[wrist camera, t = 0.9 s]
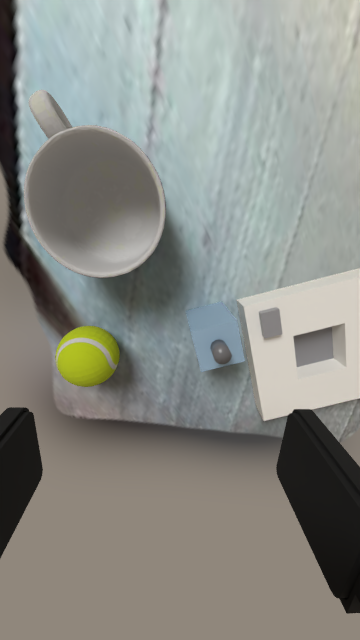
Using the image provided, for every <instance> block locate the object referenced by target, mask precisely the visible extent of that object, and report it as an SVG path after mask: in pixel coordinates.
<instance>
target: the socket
mask: <svg viewBox="0 0 360 640" xmlns="http://www.w3.org/2000/svg"><path fill="white" fill-rule="evenodd" d="M237 305H238V311H239V316H240V322H241V327H242V333H243V338H244V343H245V349H246V354H247V360H248V365H249V371H250V376H251V381H252V387H253V392H254V398H255V403H256V407H257V409H258V411H259V413H260V415H261V417H262V419H263V420H264V421H266V420H270V419H274V418H278V417H283V416H287V415H289V413H292V411H293V410H294V409H310V410H312V409H316V408H320V407H325V406H329V405H333V404H337V403H341V402H346V401H350V400H354V399H358V398H360V268H358V269H354V270H350V271H346V272H342V273H338V274H335V275H331V276H327V277H323V278H319V279H315V280H311V281H307V282H304V283H300V284H296V285H292V286H288V287H284V288H280V289H276V290H272V291H269V292H265V293H261V294H257V295H253V296H249V297H245V298H241V299H238V300H237Z"/></svg>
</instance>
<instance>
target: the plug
mask: <svg viewBox="0 0 360 640" xmlns="http://www.w3.org/2000/svg"><path fill="white" fill-rule="evenodd" d="M186 314H187V318H188V322H189V327H190V331H191V335H192V339H193V342H194V346H195V350H196V354H197V358H198V362H199V366H200V370H201V372H203V371H207V370H211V369H215V368H219V367H224V366H228V365H232V364H236V363H240V362H244V361H245V359H244V354H243V349H242V343H241V338H240V333H239V328H238V322H237V319H236V318H235V317H234V316H233V314H232V313H231V312H230V311H229V310H228V308H227V307H226V306H225V305H224V303H223V302H222V301H221V302H217V303H214V304H210V305H206V306H202V307H198V308H194V309H190V310H186Z"/></svg>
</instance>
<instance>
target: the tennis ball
mask: <svg viewBox="0 0 360 640" xmlns="http://www.w3.org/2000/svg"><path fill="white" fill-rule="evenodd" d="M55 358H56V365H57V368H58V370H59V372H60V374H61V375H62V376H63V378H64V379H66V380H67V381H68V382H70V383H72V384H74V385H77V386H83V387H89V386H94V385H98V384H100V383H102V382H104V381H106V380H107V379H108V378H109V377H110V376H111V375H112V374H113V373H114V372H115V370H116V368H117V365H118V362H119V358H120V353H119V347H118V344H117V342H116V340H115V339H114V337H113V336H112V335H111V334H110V333H109V332H107V331H106V330H104V329H102V328H99V327H95V326H84V327H79V328H76V329H74V330H72V331H71V332H69V333H68V334H67V335H65V336H64V337H63V339H62V340H61V342H60V343H59V345H58V347H57V351H56V357H55Z"/></svg>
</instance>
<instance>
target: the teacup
mask: <svg viewBox="0 0 360 640" xmlns="http://www.w3.org/2000/svg"><path fill="white" fill-rule="evenodd" d="M29 107H30V109H31V112H32V113H33V115H34V117H35V119H36V121H37V122H38V124H39V125H40V127H41V129H42V130H43V131H44V133H45V134H46V136H47V137H48V138H49V139H48V140H47V141H46V142H45V143H44V144H43V145H42V146H41V147H40V149H39V150H38V151H37V153H36V154H35V156H34V157H33V159H32V161H31V162H30V165H29V167H28V170H27V173H26V178H25V184H24V202H25V208H26V213H27V216H28V219H29V222H30V226H31V228H32V230H33V232H34V234H35V236H36V238H37V239H38V241H39V242H40V244H41V245H42V247H43V248H44V249H45V250H46V251H47V252H48V253H49V254H50V255H51V256H52V257H53V258H54V259H55V260H56V261H57V262H59V263H60V264H62V265H63V266H65V267H66V268H68V269H70V270H72V271H74V272H76V273H79V274H82V275H85V276H89V277H96V278H107V277H116V276H120V275H123V274H126V273H129V272H131V271H133V270H134V269H136V268H138V267H139V266H140V265H142V264H143V263H144V262H145V261H146V260H147V259H148V258H149V257H150V256H151V255H152V253H153V252H154V251H155V249H156V247H157V245H158V243H159V241H160V239H161V236H162V233H163V229H164V225H165V219H166V202H165V195H164V190H163V187H162V183H161V181H160V178H159V175H158V173H157V171H156V170H155V168H154V166H153V164H152V163H151V161H150V160H149V158H148V157H147V156H146V154H145V153H144V152H143V151H142V150H141V149H140V148H139V147H138V146H137V145H136V144H135V143H134V142H133V141H131V140H130V139H129V138H127V137H125V136H123V135H121V134H120V133H118V132H117V131H114V130H112V129H109V128H106V127H101V126H96V125H84V126H77V127H72V126H71V124H70V122H69V121H68V119H67V117H66V116H65V114H64V113H63V111H62V109H61V108H60V106H59V105H58V104H57V102H56V101H55V100H54V98H53V97H52V96H51V95H50V94H49V93H48V92H47V91H45V90H38V91H36V92H35V93H34V94H32V95H31V97H30V99H29Z"/></svg>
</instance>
